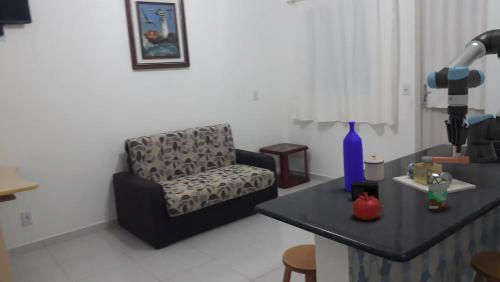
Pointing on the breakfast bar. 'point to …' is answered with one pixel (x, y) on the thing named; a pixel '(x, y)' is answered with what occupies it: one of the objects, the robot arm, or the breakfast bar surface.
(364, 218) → the pomegranate
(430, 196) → the food container
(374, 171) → the teacup with lid
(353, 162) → the bottle
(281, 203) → the breakfast bar surface
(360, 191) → the digital camera
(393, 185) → the breakfast bar surface
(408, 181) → the mounting board
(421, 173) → the valve body
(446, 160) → the lever
